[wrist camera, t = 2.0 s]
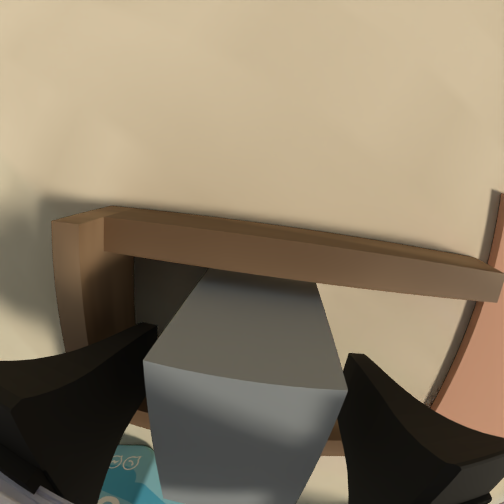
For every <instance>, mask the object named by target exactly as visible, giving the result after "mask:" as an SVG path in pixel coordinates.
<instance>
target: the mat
mask: <svg viewBox="0 0 504 504" xmlns="http://www.w3.org/2000/svg"><path fill="white" fill-rule="evenodd" d="M488 265H490V266H492V267H494V268H495V269H497V270H499V271H501V272H503V273H504V194H502V193H501V198H500V205H499V211H498V217H497V223H496V228H495V234H494V238H493V243H492V248H491V252H490V256H489V260H488ZM431 409H432V410H434V411H435V412H437V413H439V414H441V415H442V416H444V417H446V418H448V419H450V420H452V421H454V422H456V423H459V424H461V425H463V426H466V427H468V428H471V429H474V430H477V431H479V432H482V433H486V434H490V435H494V436H498V437H502V438H504V283H503V286H502V290H501V293H500V296H499V299H498V302H497V303H493V302H482V301H477V302H476V305H475V308H474V311H473V314H472V317H471V319H470V322H469V325H468V328H467V330H466V333H465V335H464V338H463V340H462V343H461V345H460V348H459V350H458V352H457V355H456V357H455V359H454V362H453V364H452V366H451V368H450V370H449V372H448V375H447V377H446V379H445V381H444V383H443V385H442V387H441V389H440V391H439V393H438V395H437V396H436V398H435V400H434V402H433V404H432V406H431Z"/></svg>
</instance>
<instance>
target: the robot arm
mask: <svg viewBox="0 0 504 504" xmlns="http://www.w3.org/2000/svg"><path fill="white" fill-rule="evenodd" d="M157 340H158V339H157V325H153V324H148V323H144V322H142V323H139V324H137V325H134V326H132V327H130V328H128V329H125V330H123V331H121V332H119V333H117V334H114V335H112V336H110V337H108V338H106V339H103V340H101V341H98V342H96V343H93V344H91V345H88V346H86V347H83V348H80V349H77V350H74V351H71V352H67V353H63V354H59V355H55V356H50V357H44V358H38V359H31V360H19V361H0V504H97V503H98V500H99V496H100V493H101V489H102V486H103V483H104V480H105V477H106V474H107V472H108V469H109V466H110V464H111V461H112V459H113V456H114V453H115V451H116V449H117V446H118V444H119V442H120V440H121V437H122V435H123V433H124V431H125V430H126V428H127V426H128V424H129V423H130V421H131V419H132V418H133V416H134V415H135V413H136V411H137V410H138V408H139V406H140V405H141V403H142V401H143V400H144V398H145V396H146V388H145V378H144V367H143V359H144V358H145V357H146V355H147V354H148V352H149V351H150V349H151V348H152V347H153V345H154V344H155V342H156V341H157ZM343 374H344V378H345V381H346V385H347V388H348V392H347V395H346V397H345V400H344V402H343V405H342V407H341V410H340V412H339V415H338V417H337V420H338V425H339V430H340V435H341V439H342V444H343V449H344V454H345V458H346V464H347V472H348V491H349V504H488V503H490V502H491V500H492V497H491V495H490V493H489V492H490V491H491V490H492V489H493V488H494V487H495V486H496V485H497V484H498V483H499V482H500V481H501V480H502V478H503V477H504V438H502V437H498V436H494V435H490V434H486V433H482V432H479V431H477V430H474V429H471V428H468V427H466V426H463V425H461V424H459V423H456V422H454V421H452V420H450V419H448V418H446V417H444V416H442V415H441V414H439V413H437V412H435V411H434V410H432V409H431V408H429V407H427V406H426V405H424V404H423V403H421V402H420V401H418V400H417V399H416V398H414V397H413V396H412V395H411V394H409V393H408V392H407V391H405V390H404V389H403V388H402V387H401V386H399V385H398V384H397V383H396V382H395V381H394V380H393V379H391V378H390V377H389V376H388V375H387V374H386V373H385V372H384V371H383V370H382V369H381V368H380V367H378V366H377V365H376V364H375V363H374V362H373V361H372V360H371V359H370V358H368V357H367V356H366V355H365V354H356V353H349V354H348V358H347V361H346V364H345V367H344V370H343ZM500 504H504V502H502V503H500Z"/></svg>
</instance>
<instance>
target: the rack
mask: <svg viewBox="0 0 504 504" xmlns="http://www.w3.org/2000/svg"><path fill="white" fill-rule="evenodd" d="M51 228H52V253H53V267H54V278H55V288H56V297H57V304H58V311H59V318H60V324H61V330H62V336H63V341H64V346H65V351H66V353H67V352H71V351H74V350H77V349H80V348H83V347H86V346H88V345H91V344H93V343H96V342H98V341H101V340H103V339H106V338H108V337H110V336H112V335H114V334H117V333H119V332H121V331H123V330H125V329H128V328H130V327H132V326H134V325H135V310H134V256H136V257H142V258H149V259H155V260H161V261H168V262H174V263H181V264H187V265H194V266H200V267H207V268H214V269H220V270H227V271H234V272H241V273H248V274H255V275H262V276H270V277H277V278H284V279H292V280H299V281H307V282H315V283H322V284H330V285H338V286H346V287H354V288H362V289H371V290H379V291H388V292H396V293H405V294H414V295H423V296H433V297H442V298H452V299H462V300H472V301H482V302H493V303H497V302H498V299H499V296H500V293H501V290H502V286H503V283H504V273H503V272H501V271H499V270H497V269H495V268H494V267H492V266H490V265H488V264H486V263H484V262H482V261H480V260H478V259H476V258H474V257H469V256H464V255H459V254H453V253H448V252H442V251H437V250H431V249H426V248H420V247H414V246H409V245H403V244H397V243H391V242H385V241H379V240H372V239H366V238H360V237H354V236H347V235H341V234H334V233H328V232H321V231H314V230H307V229H300V228H293V227H286V226H279V225H272V224H264V223H257V222H249V221H241V220H234V219H226V218H218V217H209V216H201V215H193V214H184V213H175V212H166V211H157V210H148V209H138V208H128V207H118V206H108V207H104V208H100V209H96V210H92V211H88V212H83V213H80V214H76V215H72V216H68V217H64V218H60V219H57V220H53V221H51ZM130 424H133V425H136V426H139V427H143V428H146V429H150V422H149V414H148V406H147V398H146V396H145V398H144V400H143V401H142V403H141V405H140V406H139V408H138V410H137V411H136V413H135V415H134V416H133V418H132V419H131V421H130ZM150 430H151V429H150ZM321 456H345V454H344V449H343V444H342V439H341V435H340V430H339V425H338V420H336V422H335V424H334V427H333V429H332V431H331V434H330V436H329V438H328V440H327V443H326V445H325V447H324V449H323V451H322V453H321Z"/></svg>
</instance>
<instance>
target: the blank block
mask: <svg viewBox="0 0 504 504" xmlns="http://www.w3.org/2000/svg"><path fill="white" fill-rule="evenodd" d="M143 367H144V378H145V388H146V398H147V406H148V414H149V422H150V429H151V436H152V442H153V448H154V454H155V460H156V465H157V471H158V476H159V481H160V485H161V490H162V495H163V498H164V499H167V500H171V501H175V502H179V503H183V504H296V502H297V500H298V499H299V497H300V495H301V493H302V491H303V489H304V488H305V486H306V484H307V482H308V480H309V478H310V476H311V474H312V472H313V470H314V468H315V466H316V464H317V462H318V460H319V458H320V456H321V453H322V451H323V449H324V447H325V445H326V443H327V440H328V438H329V436H330V434H331V431H332V429H333V427H334V424H335V422H336V420H337V417H338V415H339V412H340V410H341V407H342V405H343V402H344V400H345V397H346V395H347V392H348V388H347V385H346V381H345V378H344V374H343V370H342V367H341V363H340V360H339V357H338V353H337V350H336V346H335V343H334V340H333V336H332V333H331V330H330V326H329V323H328V320H327V317H326V313H325V310H324V307H323V304H322V301H321V297H320V294H319V291H318V288H317V285H316V283H315V282H307V281H299V280H292V279H284V278H277V277H270V276H262V275H255V274H248V273H241V272H234V271H227V270H220V269H214V268H209V269H208V270H207V271H206V273H205V274H204V276H203V277H202V278H201V280H200V281H199V282H198V284H197V285H196V287H195V288H194V289H193V291H192V292H191V293H190V295H189V296H188V298H187V299H186V300H185V302H184V303H183V304H182V306H181V307H180V309H179V310H178V311H177V313H176V314H175V316H174V317H173V318H172V320H171V321H170V323H169V324H168V325H167V327H166V328H165V330H164V331H163V332H162V334H161V335H160V337H159V338H158V340H157V341H156V342H155V344H154V345H153V347H152V348H151V349H150V351H149V352H148V354H147V355H146V357H145V358H144V359H143Z"/></svg>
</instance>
